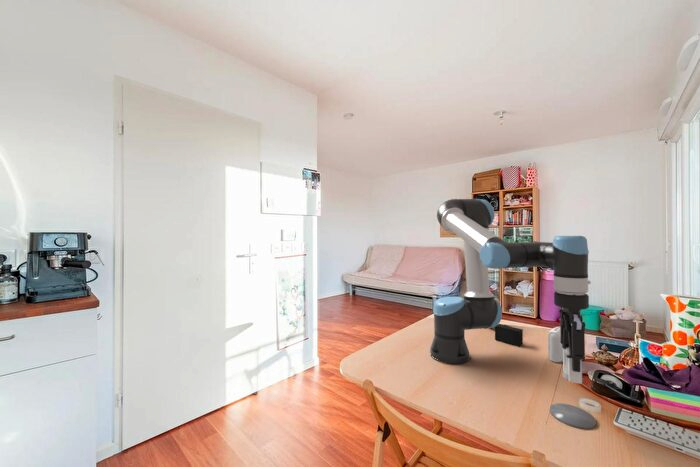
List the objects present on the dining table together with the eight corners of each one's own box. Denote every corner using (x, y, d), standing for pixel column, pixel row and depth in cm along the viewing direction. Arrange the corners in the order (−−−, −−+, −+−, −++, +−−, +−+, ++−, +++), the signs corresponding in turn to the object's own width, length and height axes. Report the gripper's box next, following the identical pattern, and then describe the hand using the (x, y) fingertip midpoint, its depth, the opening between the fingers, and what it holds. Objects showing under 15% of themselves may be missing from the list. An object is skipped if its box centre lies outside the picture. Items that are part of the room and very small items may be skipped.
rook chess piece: (576, 384, 76) (575, 353, 76) (558, 376, 80) (558, 347, 80) (586, 380, 78) (586, 350, 78) (568, 373, 82) (568, 345, 82)
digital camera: (524, 344, 130) (524, 328, 130) (519, 347, 126) (518, 331, 126) (500, 337, 138) (500, 323, 138) (495, 340, 135) (494, 325, 135)
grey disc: (554, 423, 77) (554, 420, 77) (546, 402, 86) (546, 400, 86) (602, 432, 73) (602, 430, 73) (588, 410, 82) (588, 408, 82)
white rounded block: (558, 353, 119) (558, 323, 119) (570, 357, 116) (570, 326, 116) (546, 360, 114) (546, 328, 114) (559, 364, 110) (559, 331, 110)
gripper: (600, 300, 70) (602, 397, 70) (577, 287, 86) (578, 366, 86) (563, 297, 73) (564, 391, 73) (547, 285, 89) (548, 362, 89)
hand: (572, 377), depth 79 cm, fingers closed on rook chess piece, 4 cm apart
